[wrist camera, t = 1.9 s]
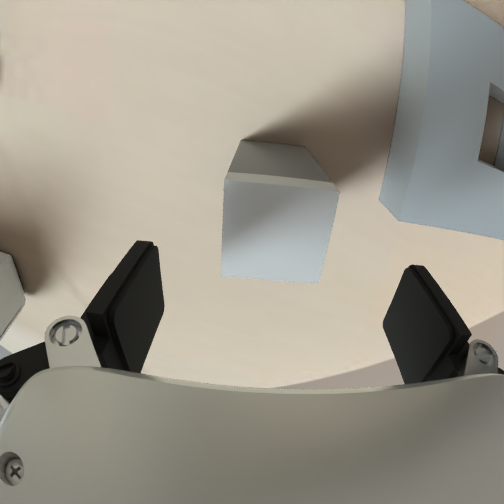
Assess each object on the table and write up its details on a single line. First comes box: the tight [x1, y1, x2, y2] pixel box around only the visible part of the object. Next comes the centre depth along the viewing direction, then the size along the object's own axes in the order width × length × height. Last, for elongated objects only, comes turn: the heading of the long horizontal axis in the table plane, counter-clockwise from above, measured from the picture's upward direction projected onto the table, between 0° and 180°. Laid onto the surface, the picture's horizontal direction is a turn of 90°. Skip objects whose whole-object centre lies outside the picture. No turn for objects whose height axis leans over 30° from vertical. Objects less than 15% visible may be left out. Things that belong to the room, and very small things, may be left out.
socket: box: [379, 0, 504, 240], centre depth 15 cm, size 18×18×5 cm
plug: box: [221, 140, 340, 284], centre depth 16 cm, size 5×5×10 cm
